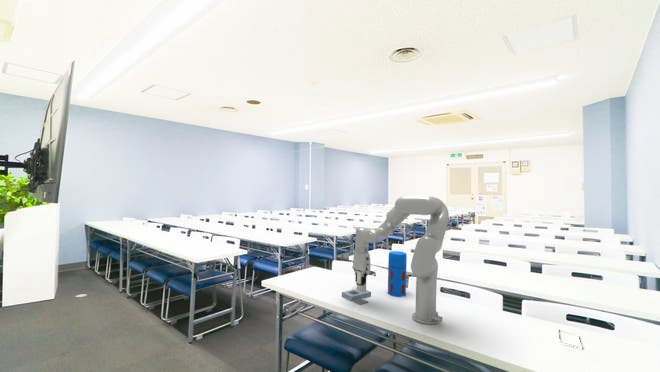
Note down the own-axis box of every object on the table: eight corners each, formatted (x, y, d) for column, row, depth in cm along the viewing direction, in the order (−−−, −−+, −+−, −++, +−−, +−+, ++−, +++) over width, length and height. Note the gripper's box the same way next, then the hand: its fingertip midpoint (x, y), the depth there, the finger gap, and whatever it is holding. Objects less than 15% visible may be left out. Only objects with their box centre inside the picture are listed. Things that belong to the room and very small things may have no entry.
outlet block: (370, 296, 173) (371, 277, 173) (351, 301, 164) (352, 281, 164) (360, 291, 180) (361, 274, 180) (341, 296, 171) (342, 277, 172)
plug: (366, 289, 163) (366, 271, 163) (359, 290, 160) (359, 272, 160) (361, 287, 167) (361, 269, 167) (354, 288, 165) (354, 270, 165)
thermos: (404, 291, 183) (405, 251, 184) (407, 297, 172) (408, 255, 173) (386, 290, 184) (387, 250, 185) (388, 296, 173) (389, 254, 174)
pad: (368, 302, 163) (368, 301, 163) (360, 304, 159) (360, 303, 159) (360, 299, 167) (360, 298, 168) (352, 301, 164) (352, 300, 164)
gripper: (377, 252, 159) (376, 285, 159) (356, 246, 173) (355, 277, 173) (367, 253, 155) (366, 288, 155) (347, 247, 169) (346, 279, 168)
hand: (360, 282), depth 164 cm, fingers closed on plug, 4 cm apart
